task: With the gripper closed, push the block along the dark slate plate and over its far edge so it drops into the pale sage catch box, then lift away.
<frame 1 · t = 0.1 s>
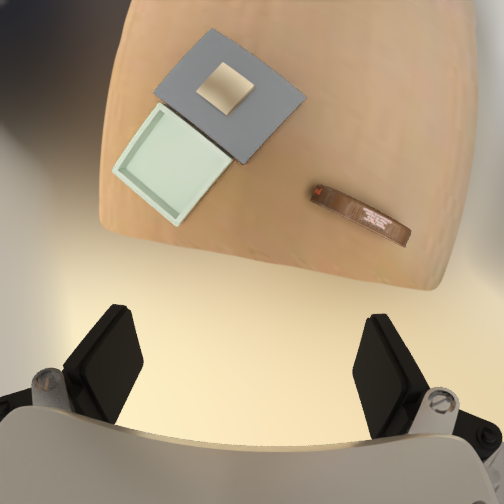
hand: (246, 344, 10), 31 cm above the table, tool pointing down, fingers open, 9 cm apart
tin: (354, 208, 40), on the table
block: (226, 90, 31), point 3 cm above the table, touching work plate
catch box: (173, 162, 38), on the table
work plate: (230, 95, 34), on the table
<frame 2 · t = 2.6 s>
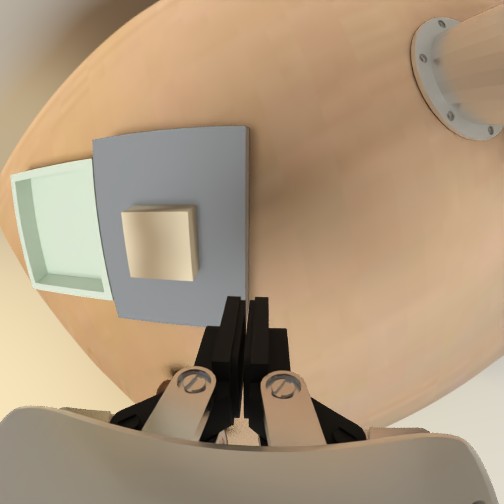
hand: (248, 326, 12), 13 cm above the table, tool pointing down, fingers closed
block: (165, 237, 21), point 3 cm above the table, touching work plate
catch box: (70, 225, 25), on the table
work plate: (179, 224, 24), on the table
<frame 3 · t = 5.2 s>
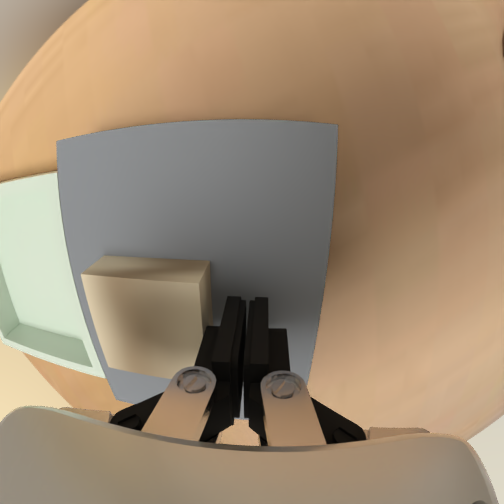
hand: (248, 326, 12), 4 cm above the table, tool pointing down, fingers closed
block: (159, 308, 12), point 4 cm above the table, touching gripper, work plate
catch box: (40, 265, 16), on the table
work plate: (201, 277, 16), on the table
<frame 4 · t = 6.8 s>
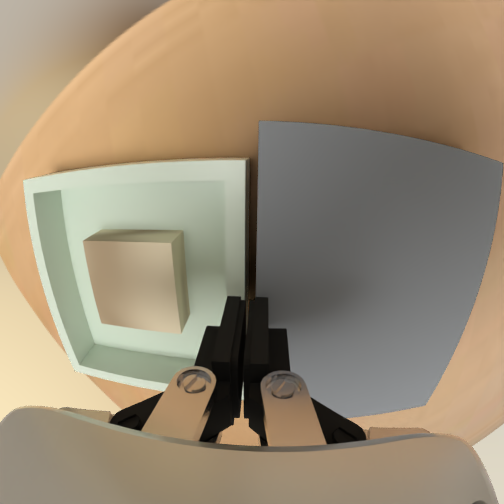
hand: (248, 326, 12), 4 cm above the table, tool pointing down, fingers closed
block: (130, 288, 13), point 2 cm above the table, tilted 180°, touching catch box
catch box: (146, 275, 16), on the table
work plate: (362, 282, 15), on the table
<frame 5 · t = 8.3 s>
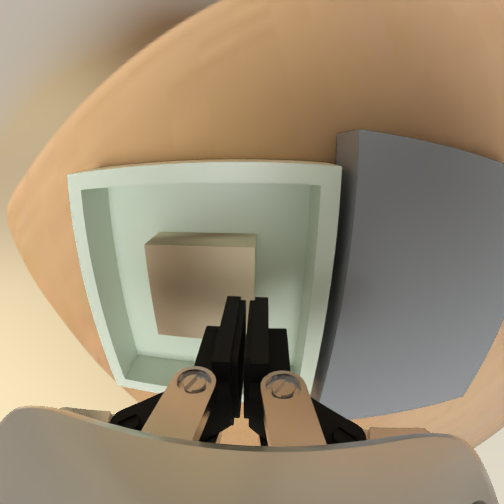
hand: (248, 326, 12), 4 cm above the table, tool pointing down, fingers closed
block: (200, 296, 13), point 2 cm above the table, tilted 180°, touching catch box
catch box: (207, 280, 15), on the table
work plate: (417, 283, 15), on the table
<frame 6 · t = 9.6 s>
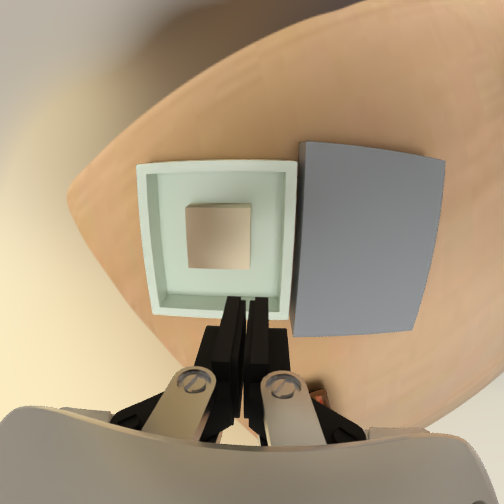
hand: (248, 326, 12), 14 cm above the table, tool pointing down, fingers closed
tin: (322, 410, 33), on the table
block: (217, 239, 22), point 2 cm above the table, tilted 180°, touching catch box
catch box: (219, 235, 24), on the table
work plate: (360, 238, 24), on the table
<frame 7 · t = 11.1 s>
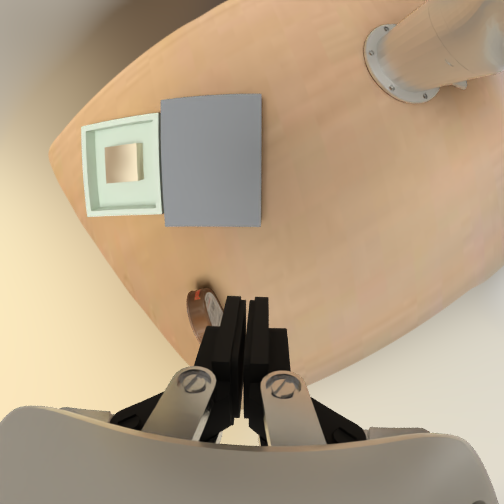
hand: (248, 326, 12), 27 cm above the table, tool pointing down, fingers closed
tin: (221, 319, 44), on the table
block: (120, 163, 33), point 2 cm above the table, tilted 180°, touching catch box
catch box: (127, 165, 35), on the table
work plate: (214, 159, 35), on the table
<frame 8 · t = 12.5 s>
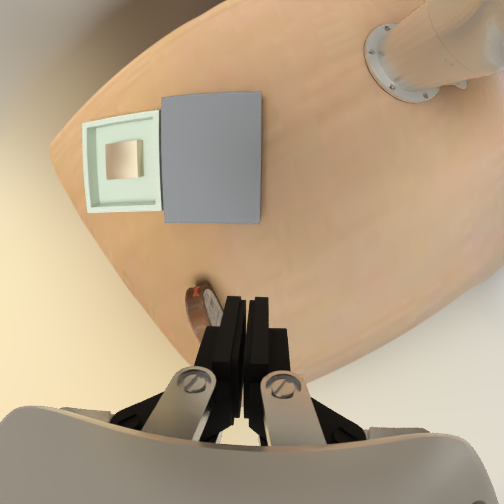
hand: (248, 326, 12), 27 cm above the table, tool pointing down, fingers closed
tin: (219, 316, 44), on the table
block: (120, 160, 33), point 2 cm above the table, tilted 180°, touching catch box
catch box: (128, 162, 35), on the table
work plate: (214, 157, 35), on the table
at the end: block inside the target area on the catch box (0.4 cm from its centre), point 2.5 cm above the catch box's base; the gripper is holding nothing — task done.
